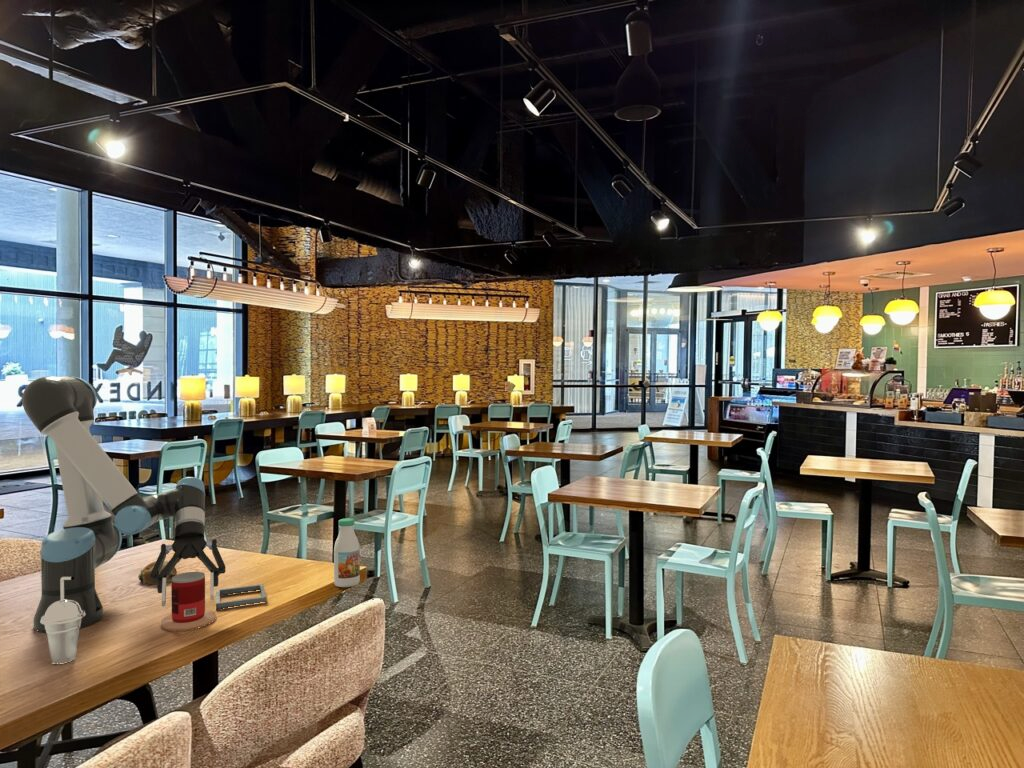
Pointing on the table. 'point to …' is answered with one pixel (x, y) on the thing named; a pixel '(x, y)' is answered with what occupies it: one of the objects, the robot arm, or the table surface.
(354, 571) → the milk bottle
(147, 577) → the bread roll
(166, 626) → the terracotta plate
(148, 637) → the table surface
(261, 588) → the square metal frame
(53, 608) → the cup with straw
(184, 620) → the canned food
